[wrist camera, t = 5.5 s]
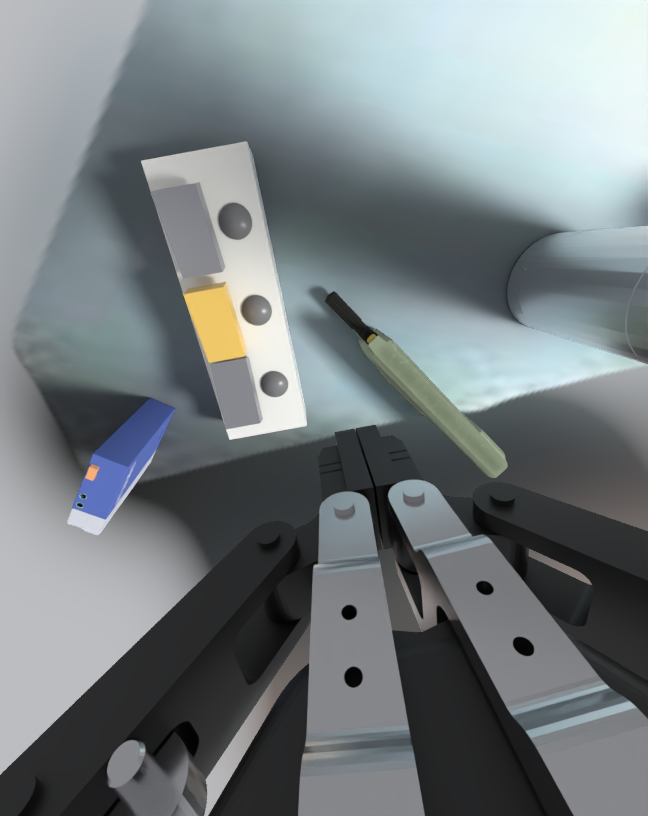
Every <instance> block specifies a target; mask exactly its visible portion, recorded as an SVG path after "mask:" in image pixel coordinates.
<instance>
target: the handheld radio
mask: <svg viewBox="0 0 648 816" xmlns="http://www.w3.org/2000/svg"><path fill="white" fill-rule="evenodd" d="M325 302H326V303H327V304H328V305H329V306H330V307H331V308H332V309H333V310H334V311H335V312H336V313H337V314H338V315H339V316H340V317H341V318H342V319H343V320H344V321H345V322H346V323H347V324H348V325H349V326H350V327H351V328H352V329H354V330H355V333H356V335H357V336H358V338H359V339H360V341H359V344H360V346H361V349H362V351H363V352H364V354H365V355H366V356H367V357H368V358H369V359H370V360H371V361H372V362H373V364H374V365H375V366H376V367H377V368H378V371H379V372H380V373H381V374H382V375H383V376H384V377H385V378H386V380H387V381H388V382H389V383H390V384H391V385H392V386H393V387H394V388H395V389H396V390H397V391H398V392H399V393H400V394H401V395H402V396H403V397H404V398H405V399H406V400H407V401H408V402H409V403H410V404H411V405H412V406H413V407H414V408H415V409H416V410H417V411H418V412H419V413H420V414H421V415H422V416H424V415H425V416H426V417H427V418H428V419H429V420H430V421H431V422H432V423H434V424H435V425H436V426H437V427H438V428H439V429H440V430H441V431H442V432H443V433H444V434H445V435H446V436H447V437H448V438H450V439H451V440H452V442H453V443H454V444H455V445H456V446H457V447H458V448H460V450H461V451H462V452H463V453H464V454H465V455H466V456H467V457H468V458H469V459H470V460H471V461H472V462H473V463H474V464H475V465H477V466H478V467H479V468H480V469H481V470H482V471H483V472H484V473H485V474H486V475H487V476H489V477H492V478H496V477H497V476H498V475H500V474H501V473H502V472H503V471H504V470H505V469H506V468H507V461H506V460H505V455H504V452H503V451H501V449H500V448H499V447H498V446H497V445H496V444H495V443H494V442H493V441H492V440H491V438H489V436H488V435H487V434H486V433H485V432H484V431H483V430H482V429H481V428H479V427H478V426H477V425H476V424H475V423H473V422H472V421H471V420H470V419H469V418H467V417H466V416H465V415H464V414H463V413H461V412H460V411H459V410H458V409H457V408H456V407H455V406H454V405H453V404H452V403H451V402H450V400H449V399H448V398H447V397H446V396H445V395H444V394H443V393H442V392H441V391H440V390H439V389H438V388H437V387H436V386H435V384H434V383H433V382H432V381H431V380H430V379H429V378H428V377H427V376H426V375H425V374H424V373H423V372H422V371H421V370H420V369H419V367H418V366H417V365H416V364H415V363H414V362H413V361H412V360H411V359H410V358H409V357H408V356H407V355H406V354H405V353H404V351H403V350H402V349H401V348H400V347H399V346H398V345H397V344H396V343H395V342H394V341H393V340H392V339H390V338H389V337H388V336H386V335H385V334H383V333H382V332H380V331H379V330H377V329H370V328H369V327H368V326H366V325H365V324H364V323H363V322H362V321H361V319H360V318H359V316H358V315H357V314H356V313H355V312H354V311H353V310H352V309H351V308H350V307H349V306H348V305H347V304H346V303H345V302H344V301H343V300H342V299H341V298H340V297H339V296H338V294H337V293H336V292H335V291H334V292H332V293H330V294H329V295H328V296H327V298H326V300H325Z"/></svg>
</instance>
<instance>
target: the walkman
mask: <svg viewBox="0 0 648 816" xmlns="http://www.w3.org/2000/svg"><path fill="white" fill-rule="evenodd" d="M174 410H175V408H172V407H170V406H168V405H166V404H163V403H161V402H159V401H157V400H154V399H152V398H150V399H149V400H148V401H147V402H145V403H144V404H143V405H142V406H141V407H140V408H139V409H138V410H137V411H136V412H135V413H134V414H133V415H132V416H131V417H130V418H129V419H128V420H127V421H126V422H125V423H124V424H123V425H122V426H121V427H120V428H119V429H118V430H117V431H116V432H115V433H114V434H113V435H112V436H111V437H110V438H109V439H108V440H107V441H106V442H105V443H103V444H102V445H101V446H100V447H99V448H98V449H97V450H96V451H95V452H94V453H93V455H92V458H91V460H90V463H89V465H88V468H87V471H86V473H85V476H84V478H83V481H82V484H81V486H80V489H79V491H78V494H77V497H76V499H75V502H74V504H73V507H72V511H71V514H70V516H69V519H68V521H67V524H70V525H73V526H77V527H79V528H82V529H83V531H87V532H89V533H92V534H95V535H98V534H100V533H101V532H102V530H103V529H104V527H105V526H106V525H107V523H108V522H109V520H110V519H111V517H112V516H113V515H114V513H115V511H116V510H117V509H118V507H119V506H120V505H121V504H122V502H123V501H124V499H125V498H126V497H127V495H128V494H129V492H130V491H131V490H132V488H133V487H134V485H135V484H136V482H137V481H138V480H139V478H140V477H141V475H142V474H143V472H144V471H145V470H146V468H147V467H148V465H149V464H150V463H151V460H152V458H153V456H154V454H155V452H156V449H157V447H158V445H159V443H160V441H161V438H162V436H163V434H164V432H165V430H166V427H167V425H168V423H169V421H170V419H171V416H172V414H173V412H174Z"/></svg>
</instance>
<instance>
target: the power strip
mask: <svg viewBox="0 0 648 816" xmlns="http://www.w3.org/2000/svg"><path fill="white" fill-rule="evenodd" d="M141 163H142V166H143V169H144V172H145V175H146V179H147V182H148V185H149V188H150V191H155V190H159V189H165V188H170V187H176V186H181V185H186V184H192V183H197V182H200V185H201V188H202V191H203V195H204V198H205V201H206V205H207V208H208V211H209V215H210V218H211V221H212V225H213V228H214V231H215V235H216V238H217V241H218V244H219V248H220V251H221V254H222V258H223V261H224V264H225V268H224V271H223V272H220V273H214V274H209V275H204V276H198V277H193V278H187V279H183V277H182V275H181V272H180V270H179V267H178V264H177V262H176V259H175V256H174V254H173V251H172V248H171V246H170V243H169V240H168V238H167V235H166V233H165V230H164V227H163V225H162V222H161V219H160V217H159V219H160V223H161V226H162V229H163V232H164V235H165V238H166V241H167V245H168V248H169V251H170V254H171V257H172V260H173V263H174V267H175V270H176V273H177V276H178V279H179V282H180V285H181V289H182V292H183V294H184V293H185V291H186V290H187V289H189V288H195V287H200V286H205V285H211V284H216V283H222V282H227V285H228V289H229V292H230V295H231V299H232V302H233V305H234V309H235V312H236V315H237V319H238V322H239V325H240V328H241V332H242V335H243V338H244V342H245V345H246V348H247V349H246V354H245V356H244V357H238V358H233V359H227V360H222V361H216V362H211V363H209V362H208V359H207V356H206V354H205V351H204V348H203V346H202V343H201V340H200V338H199V335H198V332H197V330H196V327H195V325H194V322H193V319H192V317H191V314H190V311H189V309H188V311H189V314H190V317H191V320H192V323H193V326H194V329H195V333H196V336H197V339H198V342H199V345H200V348H201V352H202V355H203V358H204V361H205V364H206V367H207V370H208V374H209V377H210V380H211V383H212V386H213V389H214V392H215V396H216V399H217V402H218V405H219V408H220V404H219V400H218V396H217V392H216V387H215V383H214V379H213V375H212V371H211V367H210V364H213V363H218V362H223V361H229V360H234V359H240V358H245V357H249V359H250V364H251V368H252V373H253V377H254V382H255V386H256V391H257V395H258V400H259V404H260V409H261V413H262V418H263V420H262V421H261V423H259V424H253V425H248V426H242V427H237V428H231V429H226V430H227V433H228V436H229V440H231V439H237V438H242V437H248V436H253V435H259V434H264V433H270V432H275V431H281V430H286V429H292V428H297V427H303V426H307V421H306V408H305V403H304V398H303V394H302V389H301V384H300V379H299V374H298V370H297V365H296V360H295V355H294V350H293V345H292V341H291V336H290V331H289V326H288V321H287V316H286V312H285V307H284V302H283V297H282V292H281V288H280V283H279V278H278V273H277V268H276V263H275V259H274V254H273V249H272V244H271V239H270V234H269V230H268V225H267V220H266V215H265V210H264V206H263V201H262V196H261V191H260V186H259V181H258V177H257V172H256V167H255V162H254V157H253V154H252V152H251V149H250V147H249V145H248V143H247V141H245V142H240V143H234V144H229V145H224V146H218V147H213V148H207V149H202V150H196V151H191V152H186V153H180V154H175V155H169V156H164V157H158V158H153V159H148V160H142V161H141ZM154 204H155V203H154ZM155 207H156V206H155ZM156 210H157V209H156ZM157 213H158V211H157ZM158 216H159V214H158ZM186 304H187V303H186ZM187 307H188V306H187ZM220 411H221V408H220ZM221 414H222V412H221ZM222 418H223V416H222ZM223 421H224V420H223Z"/></svg>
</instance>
